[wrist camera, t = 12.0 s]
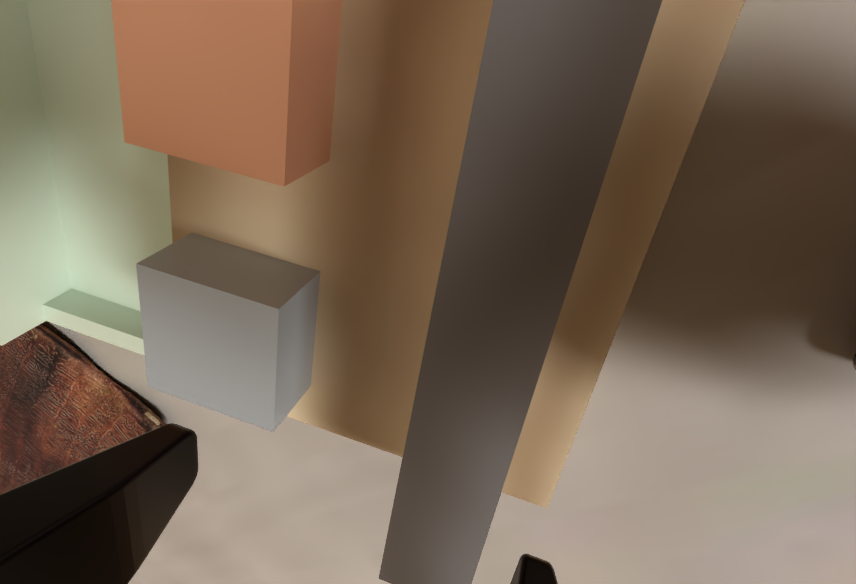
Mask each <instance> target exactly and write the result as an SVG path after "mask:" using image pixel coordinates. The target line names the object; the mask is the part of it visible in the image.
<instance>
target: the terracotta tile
mask: <svg viewBox="0 0 856 584" xmlns="http://www.w3.org/2000/svg"><path fill="white" fill-rule="evenodd" d="M342 2H343V0H111V5H112V15H113V26H114V36H115V47H116V57H117V68H118V79H119V89H120V100H121V110H122V121H123V131H124V142H125V143H129V144H132V145H136V146H140V147H143V148H147V149H150V150H154V151H158V152H161V153H165V154H168V155H172V156H176V157H179V158H183V159H186V160H190V161H194V162H197V163H201V164H204V165H208V166H212V167H215V168H219V169H223V170H226V171H230V172H233V173H237V174H241V175H244V176H248V177H251V178H255V179H259V180H262V181H266V182H269V183H273V184H277V185H280V186H284V187H285V186H286V185H288V184H290V183H292V182H293V181H295V180H297V179H299V178H300V177H302V176H304V175H306V174H307V173H309V172H311V171H313V170H314V169H316V168H318V167H320V166H321V165H323V164H325V163H327V162H328V161H329V160H330V148H331V136H332V124H333V112H334V99H335V87H336V75H337V63H338V51H339V39H340V27H341V14H342Z"/></svg>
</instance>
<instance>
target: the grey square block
mask: <svg viewBox="0 0 856 584" xmlns="http://www.w3.org/2000/svg"><path fill="white" fill-rule="evenodd" d="M136 269H137V279H138V290H139V300H140V311H141V321H142V332H143V342H144V353H145V364H146V374H147V385H148V387H150V388H152V389H155V390H158V391H161V392H163V393H166V394H169V395H172V396H174V397H177V398H180V399H183V400H186V401H188V402H191V403H194V404H197V405H199V406H202V407H205V408H208V409H210V410H213V411H216V412H219V413H222V414H224V415H227V416H230V417H233V418H235V419H238V420H241V421H244V422H246V423H249V424H252V425H255V426H258V427H260V428H263V429H266V430H269V431H271V432H274V431H275V430H276V429H277V427H278V426H279V425H280V424H281V422H282V421H283V420H284V419H285V417H286V416H287V415H288V414H289V412H290V411H291V410H292V409H293V407H294V406H295V405H296V404H297V402H298V401H299V400H300V399H301V397H302V396H303V395H304V394H305V392H306V391H307V390H308V389H309V387H310V386H311V379H312V367H313V355H314V342H315V330H316V318H317V306H318V294H319V282H320V271H317V270H314V269H311V268H307V267H304V266H301V265H297V264H294V263H291V262H288V261H284V260H281V259H278V258H274V257H271V256H268V255H264V254H261V253H258V252H254V251H251V250H248V249H245V248H241V247H238V246H235V245H231V244H228V243H225V242H221V241H218V240H215V239H211V238H208V237H205V236H202V235H198V234H195V233H190V234H189V235H187V236H185V237H183V238H181V239H180V240H178V241H176V242H174V243H172V244H170V245H169V246H167V247H165V248H163V249H161V250H160V251H158V252H156V253H154V254H152V255H151V256H149V257H147V258H145V259H143V260H142V261H140V262H138V263H136Z"/></svg>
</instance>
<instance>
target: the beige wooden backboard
mask: <svg viewBox="0 0 856 584" xmlns="http://www.w3.org/2000/svg"><path fill="white" fill-rule="evenodd" d="M744 2H745V0H662V3H661V6H660V9H659V12H658V15H657V19H656V22H655V25H654V28H653V31H652V34H651V37H650V40H649V43H648V46H647V49H646V52H645V55H644V58H643V61H642V64H641V67H640V70H639V73H638V77H637V80H636V83H635V86H634V89H633V92H632V95H631V98H630V101H629V104H628V107H627V110H626V113H625V116H624V119H623V122H622V125H621V128H620V131H619V135H618V138H617V141H616V144H615V147H614V150H613V153H612V156H611V159H610V162H609V165H608V168H607V171H606V174H605V177H604V180H603V183H602V186H601V189H600V193H599V196H598V199H597V202H596V205H595V208H594V211H593V214H592V217H591V220H590V223H589V226H588V229H587V232H586V235H585V238H584V241H583V244H582V247H581V250H580V254H579V257H578V260H577V263H576V266H575V269H574V272H573V275H572V278H571V281H570V284H569V287H568V290H567V293H566V296H565V299H564V302H563V305H562V308H561V312H560V315H559V318H558V321H557V324H556V327H555V330H554V333H553V336H552V339H551V342H550V345H549V348H548V351H547V354H546V357H545V360H544V363H543V366H542V370H541V373H540V376H539V379H538V382H537V385H536V388H535V391H534V394H533V397H532V400H531V403H530V406H529V409H528V412H527V415H526V418H525V421H524V424H523V428H522V431H521V434H520V437H519V440H518V443H517V446H516V449H515V452H514V455H513V458H512V461H511V464H510V467H509V470H508V473H507V476H506V479H505V482H504V486H503V489H502V493H505V494H508V495H511V496H514V497H517V498H519V499H522V500H525V501H528V502H531V503H534V504H536V505H539V506H542V507H545V508H547V507H548V505H549V502H550V499H551V497H552V494H553V492H554V489H555V487H556V484H557V482H558V479H559V476H560V474H561V471H562V469H563V466H564V464H565V461H566V458H567V456H568V453H569V451H570V448H571V446H572V443H573V441H574V438H575V435H576V433H577V430H578V428H579V425H580V423H581V420H582V417H583V415H584V412H585V410H586V407H587V405H588V402H589V399H590V397H591V394H592V392H593V389H594V387H595V384H596V382H597V379H598V376H599V374H600V371H601V369H602V366H603V364H604V361H605V358H606V356H607V353H608V351H609V348H610V346H611V343H612V341H613V338H614V335H615V333H616V330H617V328H618V325H619V323H620V320H621V317H622V315H623V312H624V310H625V307H626V305H627V302H628V299H629V297H630V294H631V292H632V289H633V287H634V284H635V282H636V279H637V276H638V274H639V271H640V269H641V266H642V264H643V261H644V258H645V256H646V253H647V251H648V248H649V246H650V243H651V241H652V238H653V235H654V233H655V230H656V228H657V225H658V223H659V220H660V217H661V215H662V212H663V210H664V207H665V205H666V202H667V199H668V197H669V194H670V192H671V189H672V187H673V184H674V182H675V179H676V176H677V174H678V171H679V169H680V166H681V164H682V161H683V158H684V156H685V153H686V151H687V148H688V146H689V143H690V141H691V138H692V135H693V133H694V130H695V128H696V125H697V123H698V120H699V117H700V115H701V112H702V110H703V107H704V105H705V102H706V100H707V97H708V94H709V92H710V89H711V87H712V84H713V82H714V79H715V76H716V74H717V71H718V69H719V66H720V64H721V61H722V58H723V56H724V53H725V51H726V48H727V46H728V43H729V41H730V38H731V35H732V33H733V30H734V28H735V25H736V23H737V20H738V17H739V15H740V12H741V10H742V7H743V5H744ZM492 5H493V0H343V2H342V14H341V27H340V39H339V51H338V63H337V75H336V87H335V99H334V112H333V124H332V136H331V148H330V160H329V161H328V162H327V163H325V164H323V165H321V166H320V167H318V168H316V169H314V170H313V171H311V172H309V173H307V174H306V175H304V176H302V177H300V178H299V179H297V180H295V181H293V182H292V183H290V184H288V185H286V186H285V187H284V186H280V185H277V184H273V183H269V182H266V181H262V180H259V179H255V178H251V177H248V176H244V175H241V174H237V173H233V172H230V171H226V170H223V169H219V168H215V167H212V166H208V165H204V164H201V163H197V162H194V161H190V160H186V159H183V158H179V157H176V156H172V155H168V154H167V157H168V174H169V191H170V208H171V225H172V242H173V243H174V242H176V241H178V240H180V239H181V238H183V237H185V236H187V235H189V234H190V233H195V234H198V235H202V236H205V237H208V238H211V239H215V240H218V241H221V242H225V243H228V244H231V245H235V246H238V247H241V248H245V249H248V250H251V251H254V252H258V253H261V254H264V255H268V256H271V257H274V258H278V259H281V260H284V261H288V262H291V263H294V264H297V265H301V266H304V267H307V268H311V269H314V270H317V271H320V282H319V294H318V306H317V318H316V330H315V342H314V355H313V367H312V379H311V386H310V387H309V389H308V390H307V391H306V392H305V394H304V395H303V396H302V397H301V399H300V400H299V401H298V402H297V404H296V405H295V406H294V407H293V409H292V410H291V411H290V412H289V414H288V415H287V416H288V417H291V418H294V419H296V420H299V421H302V422H305V423H308V424H310V425H313V426H316V427H319V428H322V429H325V430H327V431H330V432H333V433H336V434H339V435H342V436H344V437H347V438H350V439H353V440H356V441H358V442H361V443H364V444H367V445H370V446H373V447H375V448H378V449H381V450H384V451H387V452H390V453H392V454H395V455H398V456H401V457H403V454H404V448H405V443H406V438H407V433H408V428H409V423H410V418H411V413H412V408H413V403H414V398H415V393H416V388H417V383H418V378H419V373H420V368H421V363H422V358H423V353H424V348H425V343H426V338H427V332H428V327H429V322H430V317H431V312H432V307H433V302H434V297H435V292H436V287H437V282H438V277H439V272H440V267H441V262H442V257H443V252H444V247H445V242H446V237H447V232H448V227H449V222H450V216H451V211H452V206H453V201H454V196H455V191H456V186H457V181H458V176H459V171H460V166H461V161H462V156H463V151H464V146H465V141H466V136H467V131H468V126H469V121H470V116H471V111H472V105H473V100H474V95H475V90H476V85H477V80H478V75H479V70H480V65H481V60H482V55H483V50H484V45H485V40H486V35H487V30H488V25H489V20H490V15H491V10H492Z"/></svg>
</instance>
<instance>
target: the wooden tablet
mask: <svg viewBox="0 0 856 584" xmlns="http://www.w3.org/2000/svg"><path fill="white" fill-rule="evenodd" d="M163 425H166V424H165V423H164V422H163V420H161V419H160V418H159V417H158V416H157V415H156V414H154V413H153V412H152V411H151V410H150V408H148V407H147V406H145V405H144V404H143V403H142V402H141V401H140V400H139V399H137V398H136V397H135V396H134V395H133V394H132V393H131V392H129V391H127V390H125V389H123V388H122V387H121V386H119V385H118V384H116V383H115V382H113V381H112V380H111V379H110V378H109V377H108V376H106V375H105V374H104V373H103V372H101V371H100V370H98V369H97V368H96V366H95V365H94V364H93V363H92V362H91V361H90V360H89V359H88V358H87V357H86V356H84V355H83V354H82V353H81V352H79V351H78V350H77V349H76V348H75V347H73V346H72V345H71V344H69V343H68V342H66V341H64V340H63V339H61V338H60V337H59V336H57V335H56V334H55V333H53V332H52V331H51V330H49V329H48V328H47V327H45V326H43V325H42V324H39V325H38V326H36V327H34V328H32V329H31V330H29V331H27V332H25V333H24V334H22V335H20V336H18V337H17V338H15V339H13V340H11V341H9V342H8V343H6V344H4V345H2V346H1V345H0V494H2V493H5V492H7V491H9V490H12V489H14V488H17V487H19V486H21V485H24V484H26V483H28V482H31V481H33V480H35V479H38V478H40V477H43V476H45V475H47V474H50V473H52V472H54V471H57V470H59V469H61V468H64V467H66V466H69V465H71V464H73V463H76V462H78V461H80V460H83V459H85V458H88V457H90V456H92V455H95V454H97V453H99V452H102V451H104V450H106V449H109V448H111V447H114V446H116V445H118V444H121V443H123V442H125V441H128V440H130V439H133V438H135V437H137V436H140V435H142V434H144V433H147V432H149V431H151V430H154V429H156V428H159V427H161V426H163Z"/></svg>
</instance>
